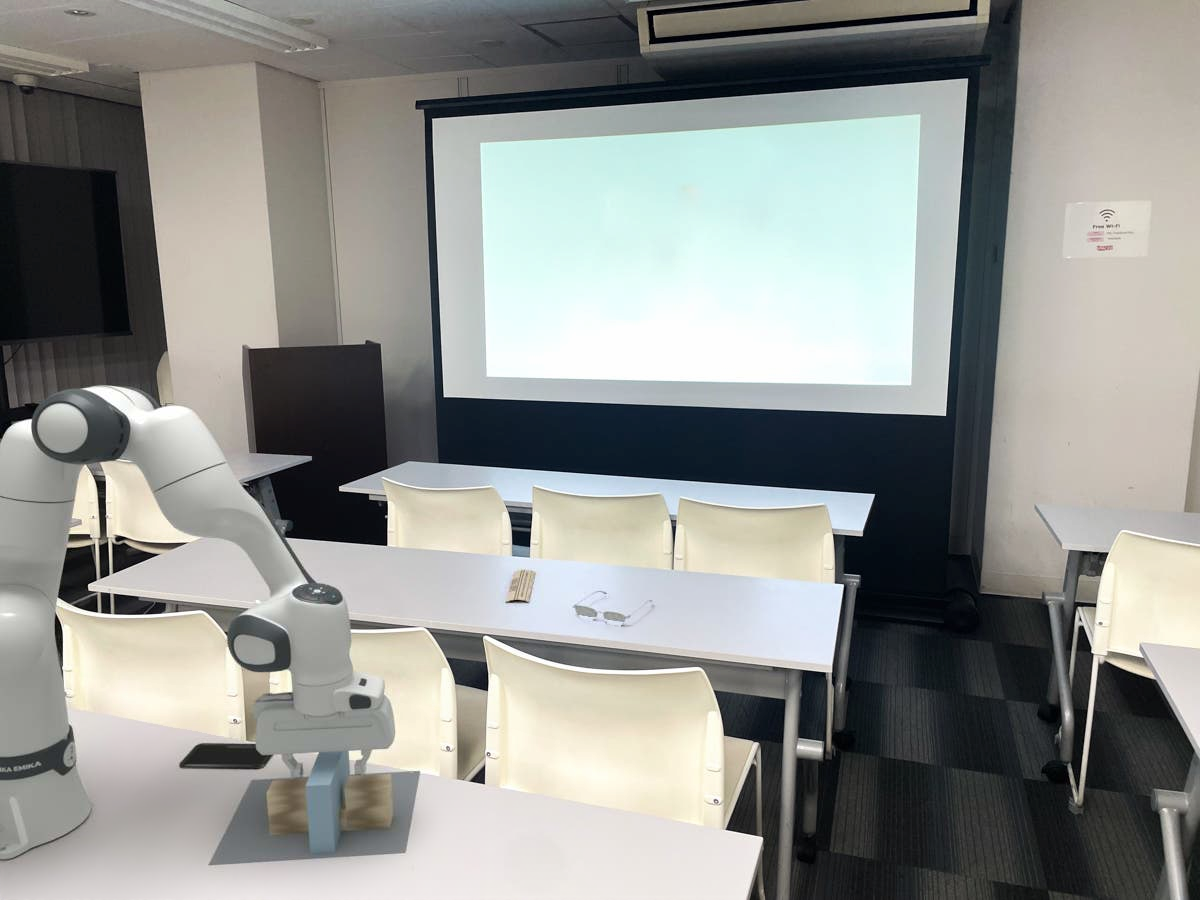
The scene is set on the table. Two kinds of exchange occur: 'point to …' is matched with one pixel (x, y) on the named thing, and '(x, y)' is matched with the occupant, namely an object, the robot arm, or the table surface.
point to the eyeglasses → (607, 615)
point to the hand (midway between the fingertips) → (329, 774)
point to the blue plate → (326, 799)
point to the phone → (225, 757)
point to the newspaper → (521, 585)
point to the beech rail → (359, 810)
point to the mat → (255, 843)
